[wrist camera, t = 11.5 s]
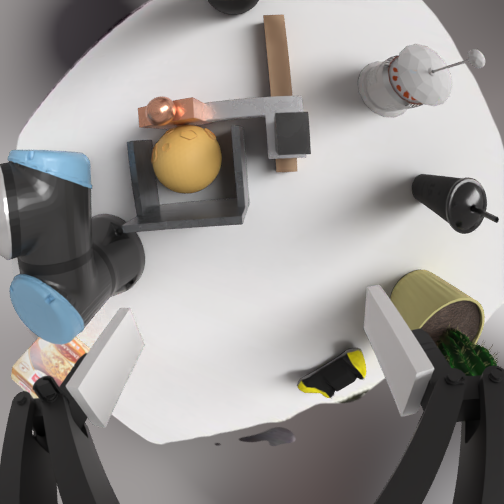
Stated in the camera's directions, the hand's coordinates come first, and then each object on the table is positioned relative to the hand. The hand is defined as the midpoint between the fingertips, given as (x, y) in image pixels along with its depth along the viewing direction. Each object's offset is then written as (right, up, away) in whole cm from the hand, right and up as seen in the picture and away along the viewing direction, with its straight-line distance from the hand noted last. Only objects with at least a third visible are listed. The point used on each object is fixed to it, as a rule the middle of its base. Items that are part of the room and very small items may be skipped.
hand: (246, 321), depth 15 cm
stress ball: (-8, +19, +29) cm, 35 cm away
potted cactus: (+32, -5, +35) cm, 48 cm away
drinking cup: (+30, +15, +28) cm, 43 cm away
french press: (+22, +30, +22) cm, 44 cm away
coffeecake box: (-45, -20, +46) cm, 67 cm away
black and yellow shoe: (+18, -21, +43) cm, 51 cm away
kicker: (-3, +22, +26) cm, 34 cm away
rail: (+5, +28, +24) cm, 37 cm away
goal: (-9, +17, +29) cm, 35 cm away
